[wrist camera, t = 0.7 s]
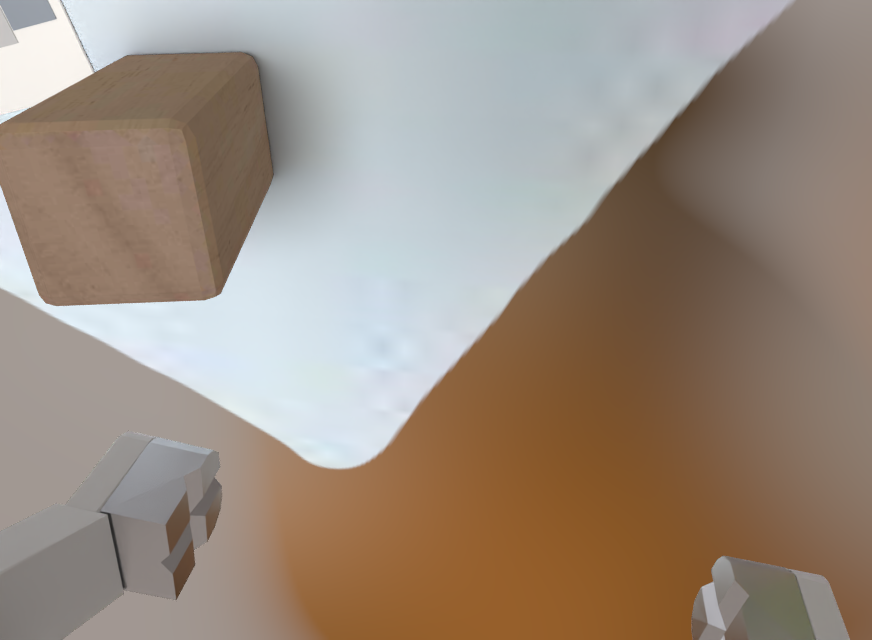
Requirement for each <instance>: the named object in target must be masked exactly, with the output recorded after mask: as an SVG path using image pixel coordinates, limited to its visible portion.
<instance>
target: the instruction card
mask: <svg viewBox="0 0 872 640" xmlns="http://www.w3.org/2000/svg"><path fill="white" fill-rule="evenodd" d="M93 73H95V72H94V70H93V68H92V66H91V64H90V62H89V59H88V57H87V55H86V53H85V51H84V49H83V47H82V45H81V42H80V40H79V38H78V36H77V34H76V32H75V30H74V27H73V25H72V23H71V21H70V19H69V17H68V15H67V13H66V10H65V8H64V6H63V4H62V2H61V0H0V115H2V114H6V113H9V112H13V111H17V110H21V109H25V108H29V107H32V106H35V105H36V104H38V103H40V102H42V101H44V100H46V99H47V98H49V97H51V96H53V95H55V94H57V93H58V92H60V91H62V90H64V89H66V88H68V87H69V86H71V85H73V84H75V83H77V82H79V81H80V80H82V79H84V78H86V77H88V76H90V75H91V74H93Z"/></svg>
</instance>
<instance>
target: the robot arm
mask: <svg viewBox="0 0 872 640" xmlns="http://www.w3.org/2000/svg"><path fill="white" fill-rule="evenodd" d="M219 468H220V461H219V453H218V452H216V451H214V450H210V449H206V448H202V447H197V446H193V445H189V444H185V443H181V442H176V441H172V440H168V439H163V438H159V437H154V436H149V435H145V434H140V433H136V432H131V431H127V432H125V433H123V434H122V435H120V436H119V437H118V438H117V439H116V440H115V442H114V443H113V444H112V445H111V447H110V448H109V449H108V451H107V452H106V453H105V454H104V456H103V457H102V458H101V459H100V461H99V462H98V463H97V465H96V466H95V467H94V469H93V470H92V471H91V472H90V474H89V475H88V476H87V477H86V479H85V480H84V481H83V482H82V484H81V485H80V486H79V488H78V489H77V490H76V492H75V493H74V494H73V495H72V497H71V498H70V499H69V500H68V502H67V503H66V504H65V505H63V504H57V503H56V504H53V505H51V506H49V507H47V508H45V509H43V510H41V511H39V512H37V513H35V514H33V515H31V516H30V517H27V518H25V519H23V520H22V521H19V522H17V523H15V524H13V525H11V526H9V527H7V528H5V529H3V530H1V531H0V640H62V639H64V638H65V637H66V636H68V635H69V634H70V633H71V632H73V631H74V630H76V629H77V628H78V627H80V626H81V625H82V624H84V623H85V622H86V621H88V620H89V619H90V618H92V617H93V616H94V615H96V614H97V613H98V612H100V611H101V610H103V609H104V608H105V607H107V606H108V605H109V604H111V603H112V602H113V601H114V600H116V599H117V598H119V597H120V596H121V595H123V594H124V590H126V591H131V592H136V593H141V594H146V595H151V596H157V597H162V598H167V599H173V600H177V598H178V596H179V594H180V592H181V591H182V589H183V587H184V585H185V583H186V581H187V579H188V577H189V575H190V574H191V572H192V570H193V568H194V566H195V557H194V550H195V549H196V548H198V547H200V546H201V545H203V544H205V543H206V542H208V540H209V538H210V536H211V534H212V531H213V530H214V528H215V525H216V522H217V518H218V515H219V512H220V509H221V501H222V486H221V484H220V483H219V482H218V481H217V480H216V479H215V475H216V473H217V471H218V470H219ZM711 571H712V576H713V581H714V582H712V583H710V584H707V585H705V586H703V587H701V589H700V591H699V593H698V595H697V597H696V599H695V602H694V607H693V613H692V636H693V640H850V638H849V635H848V633H847V630H846V627H845V625H844V622H843V620H842V617H841V614H840V611H839V609H838V606H837V603H836V601H835V598H834V595H833V593H832V590H831V587H830V585H829V582H828V581H827V580H826V579H825V578H824V577H823V576H820V575H816V574H811V573H806V572H801V571H796V570H792V569H786V568H784V567H778V566H773V565H768V564H763V563H758V562H753V561H748V560H743V559H737V558H733V557H728V556H722V557H721V558H719V559H717V561H716V563H715V564H714V566H713V568H712V569H711Z"/></svg>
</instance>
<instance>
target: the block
mask: <svg viewBox="0 0 872 640" xmlns="http://www.w3.org/2000/svg"><path fill="white" fill-rule="evenodd" d="M272 178H273V169H272V162H271V155H270V148H269V141H268V134H267V127H266V120H265V113H264V105H263V98H262V91H261V84H260V77H259V70H258V66H257V64H256V62H255V60H254V58H253V57H252V56H250V55H248V54H245V53H242V52H231V53H195V54H159V55H127V56H125V57H123V58H121V59H119V60H117V61H115V62H113V63H112V64H110V65H108V66H106V67H104V68H102V69H101V70H99V71H97V72H95V73H93V74H91V75H90V76H88V77H86V78H84V79H82V80H80V81H79V82H77V83H75V84H73V85H71V86H69V87H68V88H66V89H64V90H62V91H60V92H58V93H57V94H55V95H53V96H51V97H49V98H47V99H46V100H44V101H42V102H40V103H38V104H36V105H35V106H33V107H31V108H29V109H27V110H25V111H24V112H22V113H20V114H18V115H16V116H15V117H13V118H11V119H9V120H7V121H5V122H4V123H2V124H0V185H1V188H2V191H3V194H4V196H5V199H6V202H7V205H8V208H9V211H10V213H11V216H12V219H13V222H14V225H15V228H16V231H17V233H18V236H19V239H20V242H21V245H22V248H23V251H24V253H25V256H26V259H27V262H28V265H29V268H30V270H31V273H32V276H33V279H34V282H35V285H36V288H37V290H38V293H39V296H40V297H41V298H42V299H43V300H44V302H45V303H47V304H51V305H55V306H69V305H94V304H120V303H145V302H170V301H196V300H207V299H210V298H213V297H216V296H217V295H219V294H221V292H222V290H223V287H224V285H225V283H226V281H227V279H228V276H229V274H230V272H231V270H232V268H233V265H234V263H235V261H236V259H237V257H238V254H239V252H240V250H241V248H242V246H243V243H244V241H245V239H246V237H247V235H248V232H249V230H250V228H251V226H252V224H253V222H254V219H255V217H256V215H257V213H258V211H259V208H260V206H261V204H262V202H263V200H264V197H265V195H266V193H267V191H268V189H269V186H270V184H271V181H272Z"/></svg>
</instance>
